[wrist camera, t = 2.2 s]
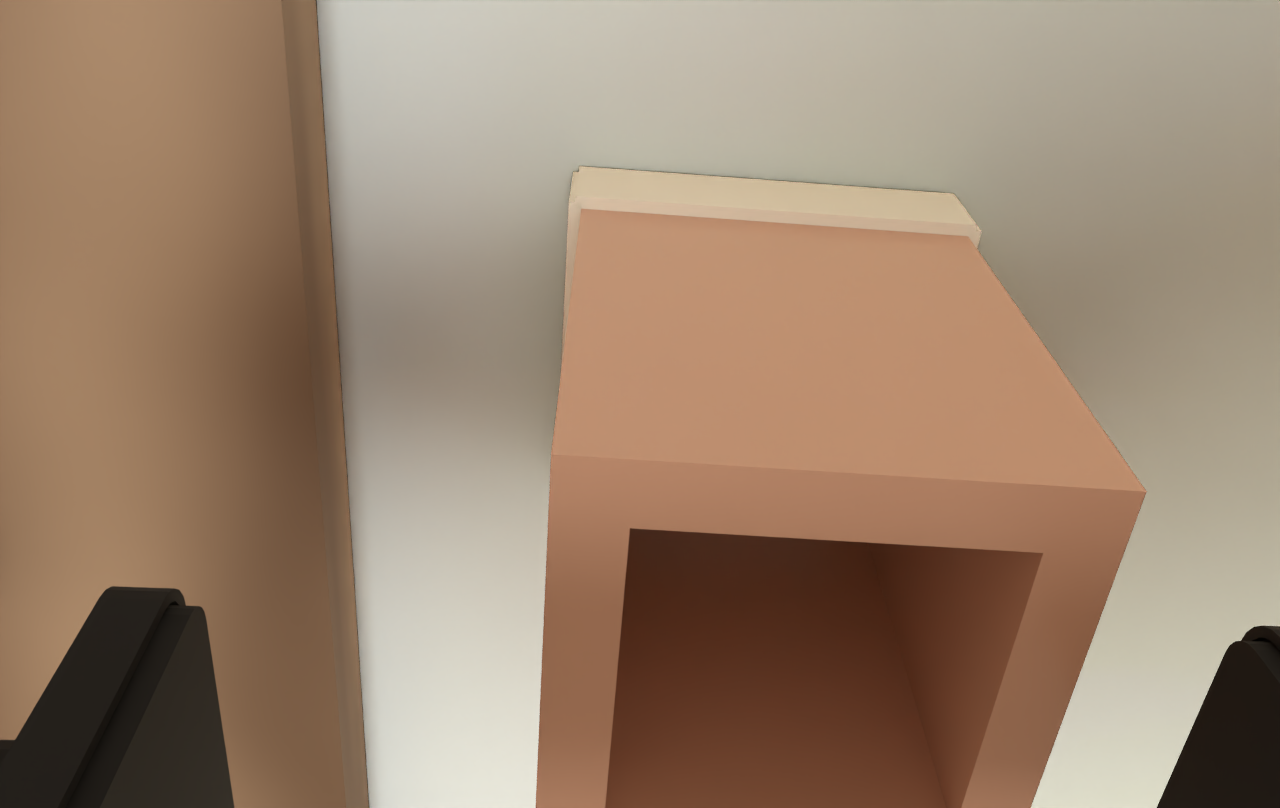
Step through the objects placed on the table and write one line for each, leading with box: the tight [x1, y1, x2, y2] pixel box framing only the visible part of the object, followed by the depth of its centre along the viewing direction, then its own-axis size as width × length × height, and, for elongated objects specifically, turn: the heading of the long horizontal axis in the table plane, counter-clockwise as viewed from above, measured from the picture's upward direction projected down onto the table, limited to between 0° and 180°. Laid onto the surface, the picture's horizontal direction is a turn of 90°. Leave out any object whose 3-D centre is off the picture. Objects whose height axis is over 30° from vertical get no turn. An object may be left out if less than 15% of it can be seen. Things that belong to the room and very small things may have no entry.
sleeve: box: [536, 166, 1146, 808], centre depth 14 cm, size 5×5×7 cm
